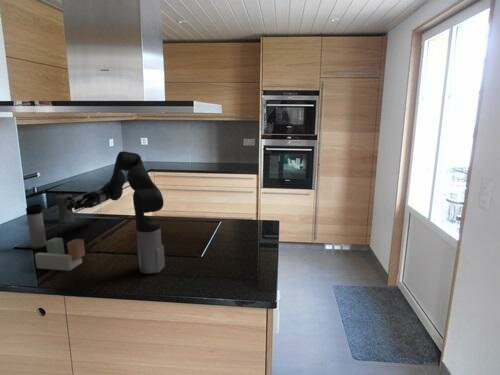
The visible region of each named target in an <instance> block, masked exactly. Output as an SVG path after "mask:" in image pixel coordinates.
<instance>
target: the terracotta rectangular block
mask: <svg viewBox="0 0 500 375" xmlns="http://www.w3.org/2000/svg"><path fill="white" fill-rule="evenodd" d="M66 246H67V255H71V258H72V259H79V258H83V257H84V256H86V250H85V241H84V239H80V238H74V239H73V240H70V241H68V242H67V244H66Z"/></svg>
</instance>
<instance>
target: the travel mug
mask: <svg viewBox="0 0 500 375" xmlns="http://www.w3.org/2000/svg"><path fill="white" fill-rule="evenodd" d="M25 211H26V221H27V227H28V233H29V240H30V247H31V249H33V250H38V249H43V248H45V247H47V246H46V241H47V238H46V231H45V223H44V216H43V210H42V205H40V204H39V203H37V204H36V203H35V204H34V205H29V206H27V207H26V208H25Z"/></svg>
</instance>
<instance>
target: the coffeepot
mask: <svg viewBox="0 0 500 375" xmlns="http://www.w3.org/2000/svg"><path fill="white" fill-rule="evenodd" d="M65 192H66V191H61V193H62V194H59V195H58V194H57V195H56V196H55V197H54V198H55V202H56V204H57V208H58V220H57V221H58V223H59V224H71V223H73V222H75V221H76V216H75V215H74V210H73V208H72V209H70V210H67V205H68V204H69V202H70V201H71V200H72V199H74V198H73V197H74V196H73V194H69V193H67V194H66V193H65Z"/></svg>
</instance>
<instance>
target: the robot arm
mask: <svg viewBox="0 0 500 375" xmlns="http://www.w3.org/2000/svg"><path fill="white" fill-rule="evenodd" d="M113 166H114V167H113V172H112V175H111V178H110V179H109V182H107V183H105V184H104V185H103V187H101V188H99V189H96V190H93V191H90V192H87V193H86V192H85V193H84V194H83V195H82V196H81V198H79V199H74V198H72V200H71V201H70V202H69V204H68V205H67V210H70V209H72V210H73V211H77V210H80V209H92V208H94V207H96V206H97V207H98V206H99V205H102V204H103V203H104V202H107V201H109V200H112V201H118V200H120V199H121V197H122V196H123V193H124V192H123V191H124V189H123V187H124V185H125V182H126V180H127V182H128V185H129V187H130V188H131V190H133V194H132V201H133V202H132V203H133V209H134V216H135V225H136V226H135V227H136V228H135V229H136V242H137V256H138V267H139V271H140V273H143V274H147V275H148V274H157V273H160V272H161V271H162V270H163V269H164V268H165V267H166V261H165V247H164V244H162V233H161V232H162V230H161V222H160V220H159V219H157V218H152V217H149V216H146V215H145V214H148V213H153V212H155V213H156V212H159V211H160V210H162V209H163V207H164V198H163V194H162V192H161V190H160V188H158V187H157V185H156V184H155V183H154V182H153V180H152V179H151V178H152V177H151V176H150V175H149V172H148V171H147V170H146V167H145V166H144V163H143V160H142V157H141V155H140V154H138V153H136V152H130V151H124V150H123V151H119V152H118V154H117V155H116V158H115V162H114V165H113ZM123 171H124V172H127V174H126V175H125V173H124V172H123Z"/></svg>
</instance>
